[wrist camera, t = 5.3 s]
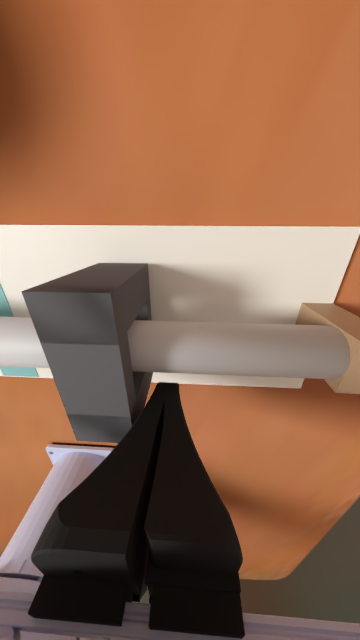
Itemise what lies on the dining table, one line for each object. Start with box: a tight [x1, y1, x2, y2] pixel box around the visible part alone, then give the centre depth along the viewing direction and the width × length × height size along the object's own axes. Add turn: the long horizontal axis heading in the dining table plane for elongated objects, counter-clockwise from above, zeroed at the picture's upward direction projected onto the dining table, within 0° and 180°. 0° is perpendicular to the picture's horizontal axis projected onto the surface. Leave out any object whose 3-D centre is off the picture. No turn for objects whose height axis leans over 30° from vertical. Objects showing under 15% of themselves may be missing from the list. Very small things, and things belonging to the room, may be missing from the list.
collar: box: [21, 263, 153, 443], centre depth 11 cm, size 8×3×6 cm, turn 0°
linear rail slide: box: [0, 225, 360, 394], centre depth 12 cm, size 12×32×5 cm, turn 90°
